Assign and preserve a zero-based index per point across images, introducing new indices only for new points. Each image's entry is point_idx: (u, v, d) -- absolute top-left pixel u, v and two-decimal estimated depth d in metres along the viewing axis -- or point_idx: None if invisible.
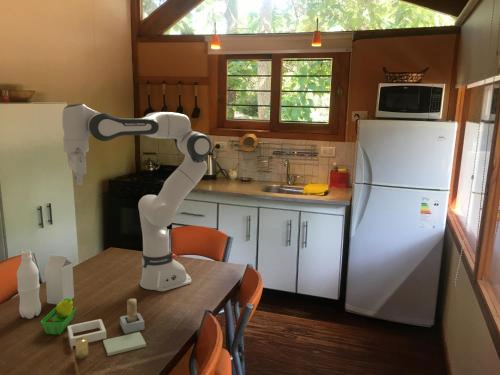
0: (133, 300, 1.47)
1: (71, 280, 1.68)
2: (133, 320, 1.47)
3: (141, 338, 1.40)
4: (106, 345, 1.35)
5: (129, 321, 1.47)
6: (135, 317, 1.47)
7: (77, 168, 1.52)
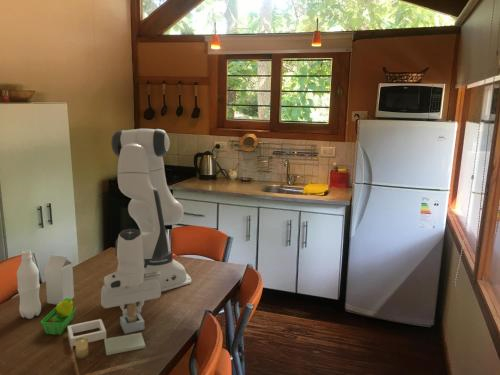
0: None
1: (71, 280, 1.68)
2: (133, 320, 1.47)
3: (141, 339, 1.39)
4: (106, 344, 1.36)
5: (129, 321, 1.47)
6: (135, 317, 1.47)
7: (160, 290, 1.50)
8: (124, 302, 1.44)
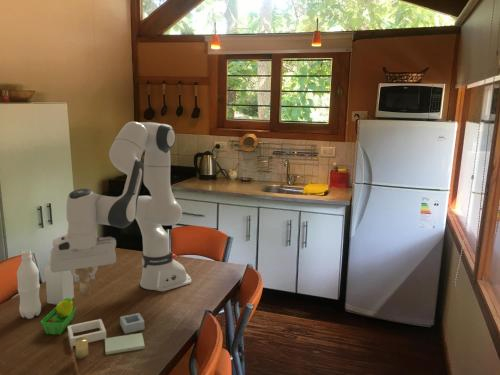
0: None
1: (71, 280, 1.68)
2: (85, 287, 1.37)
3: (141, 339, 1.39)
4: (106, 344, 1.36)
5: (81, 288, 1.37)
6: (88, 284, 1.38)
7: (115, 256, 1.41)
8: (75, 267, 1.34)
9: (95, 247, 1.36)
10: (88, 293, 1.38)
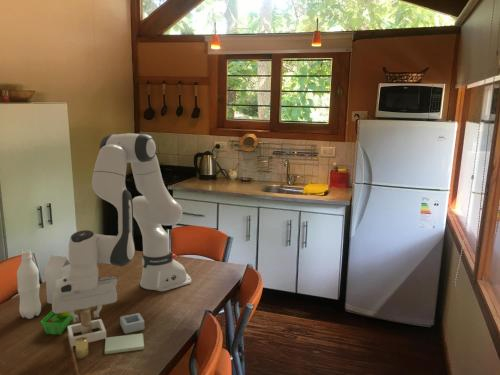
0: (86, 309, 1.40)
1: None
2: (87, 330, 1.40)
3: (141, 340, 1.39)
4: (106, 343, 1.36)
5: (83, 331, 1.40)
6: (89, 326, 1.41)
7: (116, 295, 1.43)
8: (77, 307, 1.37)
9: (96, 287, 1.39)
10: None
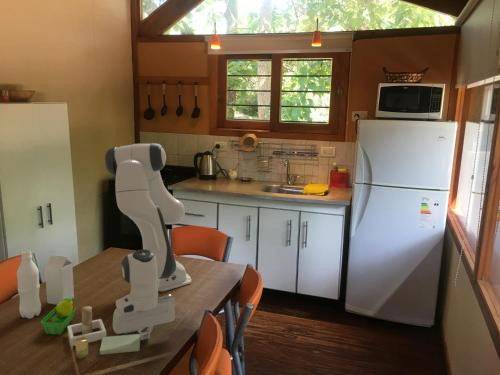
0: (88, 308, 1.41)
1: (71, 280, 1.68)
2: (88, 329, 1.41)
3: (137, 341, 1.38)
4: (102, 343, 1.36)
5: (84, 330, 1.41)
6: (90, 326, 1.41)
7: (174, 313, 1.43)
8: (137, 327, 1.37)
9: (156, 307, 1.39)
10: None
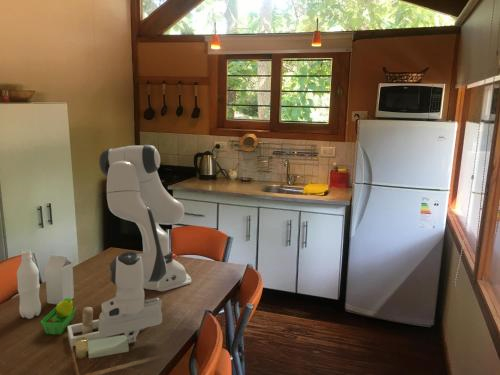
0: (89, 309, 1.40)
1: (71, 280, 1.68)
2: (89, 329, 1.41)
3: (125, 341, 1.37)
4: (89, 346, 1.34)
5: (84, 331, 1.40)
6: (91, 326, 1.41)
7: (161, 316, 1.41)
8: (123, 330, 1.35)
9: (143, 310, 1.37)
10: None
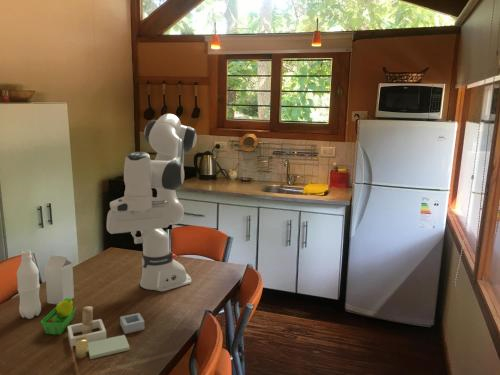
0: (89, 308, 1.41)
1: (71, 280, 1.68)
2: (89, 329, 1.41)
3: (125, 341, 1.38)
4: (89, 348, 1.33)
5: (85, 330, 1.40)
6: (91, 325, 1.42)
7: (169, 220, 1.42)
8: (131, 229, 1.36)
9: (150, 210, 1.38)
10: None
